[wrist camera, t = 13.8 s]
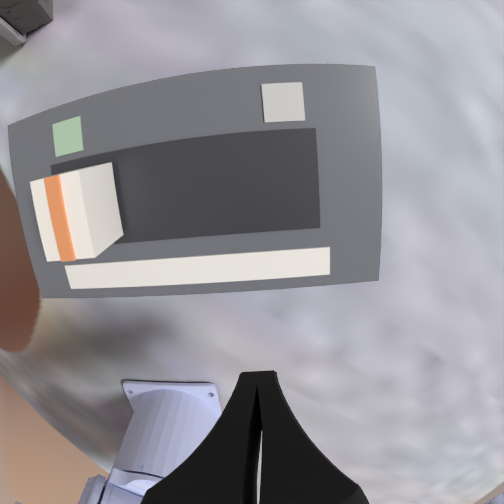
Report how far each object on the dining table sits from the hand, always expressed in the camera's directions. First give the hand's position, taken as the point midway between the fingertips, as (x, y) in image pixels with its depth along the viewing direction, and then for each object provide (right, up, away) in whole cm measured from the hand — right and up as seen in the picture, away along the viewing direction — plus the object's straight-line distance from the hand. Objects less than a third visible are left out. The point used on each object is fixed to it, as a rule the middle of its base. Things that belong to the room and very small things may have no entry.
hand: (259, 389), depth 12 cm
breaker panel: (-4, +9, +7) cm, 12 cm away
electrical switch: (-16, +25, +2) cm, 29 cm away
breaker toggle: (-9, +8, +4) cm, 13 cm away
